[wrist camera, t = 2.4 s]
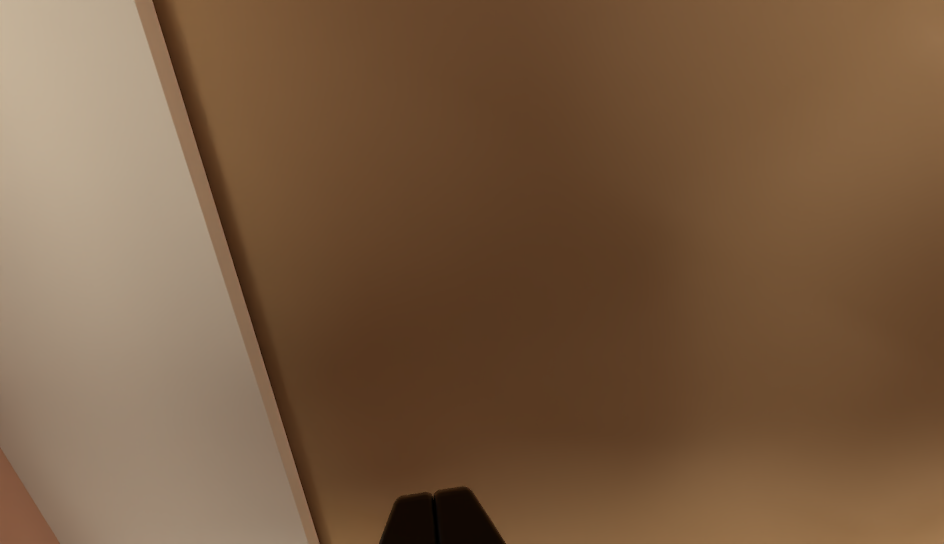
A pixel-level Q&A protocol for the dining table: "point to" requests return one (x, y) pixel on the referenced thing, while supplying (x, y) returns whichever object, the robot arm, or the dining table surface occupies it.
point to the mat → (125, 299)
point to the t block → (20, 511)
